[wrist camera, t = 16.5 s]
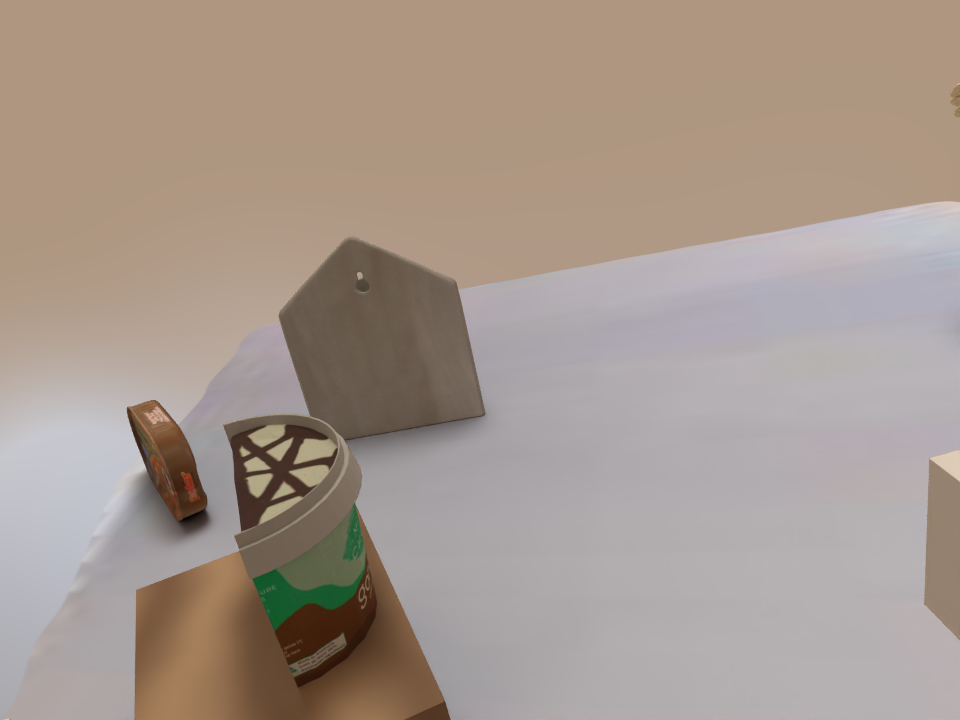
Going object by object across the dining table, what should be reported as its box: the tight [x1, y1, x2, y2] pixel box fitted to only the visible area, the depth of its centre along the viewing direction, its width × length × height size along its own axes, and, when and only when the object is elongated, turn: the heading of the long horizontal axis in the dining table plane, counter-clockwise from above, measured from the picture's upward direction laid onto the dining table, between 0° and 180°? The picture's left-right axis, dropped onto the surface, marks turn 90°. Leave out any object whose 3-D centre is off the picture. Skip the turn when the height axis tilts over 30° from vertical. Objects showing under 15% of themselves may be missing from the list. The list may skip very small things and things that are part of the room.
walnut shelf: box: [135, 507, 450, 720], centre depth 45 cm, size 14×18×8 cm
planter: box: [279, 236, 485, 440], centre depth 77 cm, size 16×8×19 cm, turn 91°
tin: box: [127, 400, 207, 521], centre depth 73 cm, size 15×3×8 cm, turn 34°
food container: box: [223, 414, 377, 688], centre depth 43 cm, size 12×6×10 cm, turn 19°
